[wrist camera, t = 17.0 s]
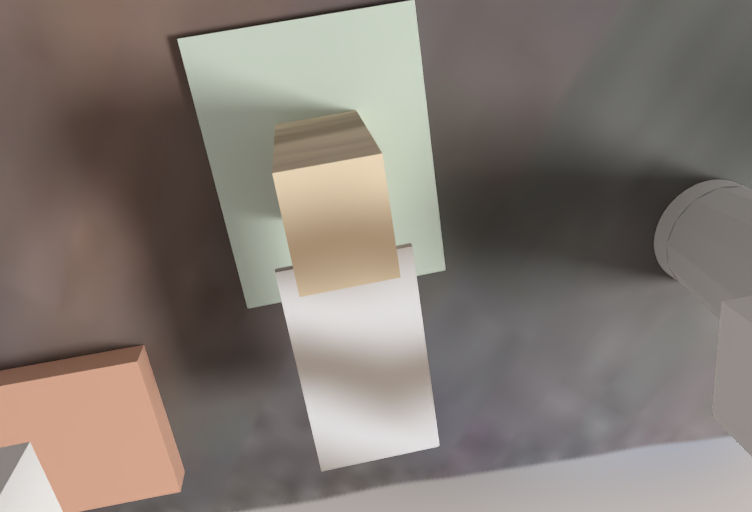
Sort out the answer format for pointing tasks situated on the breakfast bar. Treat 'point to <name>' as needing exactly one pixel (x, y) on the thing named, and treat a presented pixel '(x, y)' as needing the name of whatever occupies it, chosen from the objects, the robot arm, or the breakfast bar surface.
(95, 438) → the tile
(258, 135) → the mat
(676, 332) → the breakfast bar surface
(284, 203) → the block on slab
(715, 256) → the cup
